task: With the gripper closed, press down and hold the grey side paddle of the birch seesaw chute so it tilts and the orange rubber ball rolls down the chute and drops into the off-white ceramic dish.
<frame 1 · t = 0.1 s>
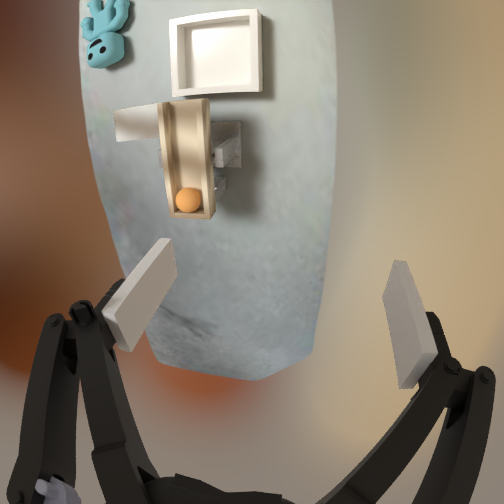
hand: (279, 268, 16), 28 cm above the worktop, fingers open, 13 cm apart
ball: (188, 199, 35), point 10 cm above the worktop, touching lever
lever: (159, 160, 34), point 9 cm above the worktop, hinge at 0.0°, touching ball
fulcrum: (210, 144, 41), on the worktop
toy: (111, 28, 32), on the worktop
dish: (219, 54, 33), on the worktop
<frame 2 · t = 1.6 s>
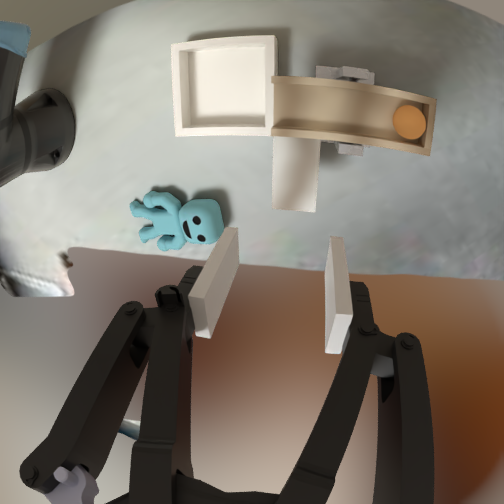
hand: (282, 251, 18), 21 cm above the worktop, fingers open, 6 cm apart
ball: (409, 122, 21), point 10 cm above the worktop, touching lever
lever: (351, 152, 25), point 9 cm above the worktop, hinge at 0.0°, touching ball
fulcrum: (343, 105, 30), on the worktop
toy: (179, 215, 43), on the worktop
dish: (228, 85, 31), on the worktop
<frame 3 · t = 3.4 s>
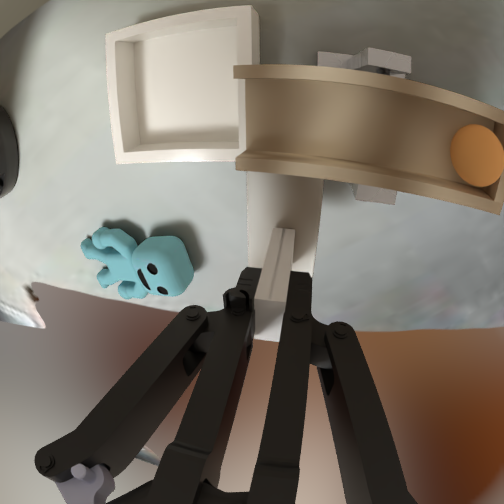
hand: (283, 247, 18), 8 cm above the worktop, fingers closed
ball: (477, 155, 10), point 11 cm above the worktop, touching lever
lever: (374, 200, 15), point 9 cm above the worktop, hinge at -6.6°, touching ball, gripper
fulcrum: (359, 113, 20), on the worktop
toy: (140, 254, 33), on the worktop
dish: (189, 85, 21), on the worktop
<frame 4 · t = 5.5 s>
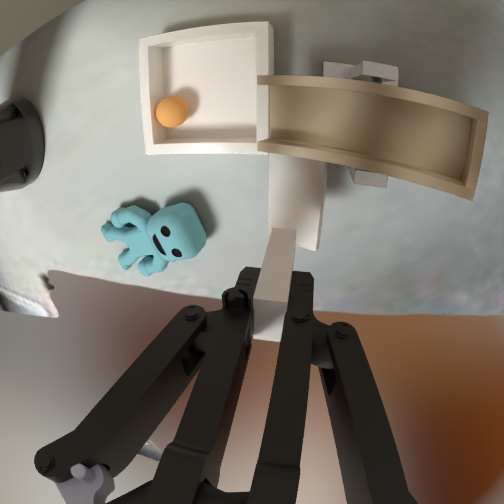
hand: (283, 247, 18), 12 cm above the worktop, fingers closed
ball: (172, 111, 24), point 2 cm above the worktop, tilted 150°, touching dish
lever: (362, 182, 18), point 9 cm above the worktop, hinge at -20.2°
fulcrum: (359, 114, 23), on the worktop
toy: (156, 230, 35), on the worktop
dish: (212, 88, 24), on the worktop
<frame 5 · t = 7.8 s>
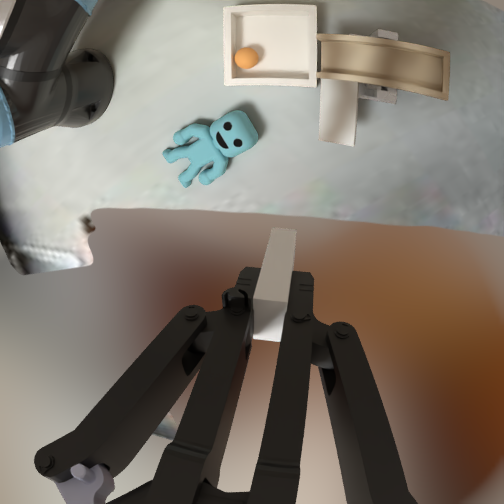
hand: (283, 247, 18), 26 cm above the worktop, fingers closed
ball: (246, 58, 32), point 2 cm above the worktop, tilted 146°, touching dish
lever: (382, 95, 26), point 9 cm above the worktop, hinge at -20.2°
fulcrum: (372, 68, 31), on the worktop
toy: (213, 145, 42), on the worktop
dish: (272, 46, 32), on the worktop
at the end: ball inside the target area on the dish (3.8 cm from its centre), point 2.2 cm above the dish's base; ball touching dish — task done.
